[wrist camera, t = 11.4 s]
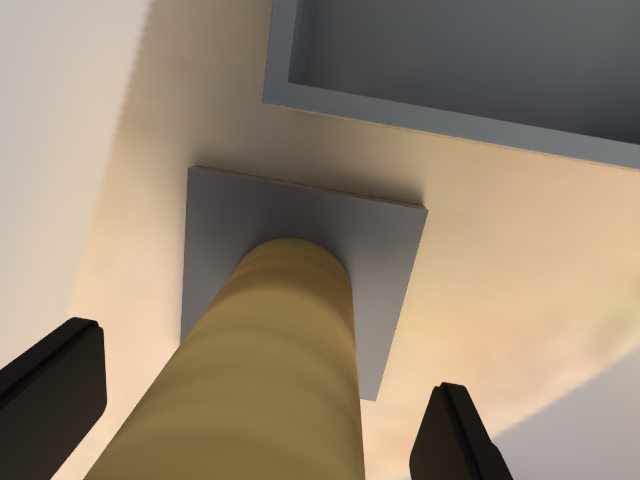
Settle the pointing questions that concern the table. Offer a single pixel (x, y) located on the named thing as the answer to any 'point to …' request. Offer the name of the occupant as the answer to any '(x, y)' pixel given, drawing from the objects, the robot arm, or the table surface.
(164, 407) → the mustard cylinder
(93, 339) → the robot arm
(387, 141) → the table surface
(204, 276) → the gray square plate
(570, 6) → the slate open box
